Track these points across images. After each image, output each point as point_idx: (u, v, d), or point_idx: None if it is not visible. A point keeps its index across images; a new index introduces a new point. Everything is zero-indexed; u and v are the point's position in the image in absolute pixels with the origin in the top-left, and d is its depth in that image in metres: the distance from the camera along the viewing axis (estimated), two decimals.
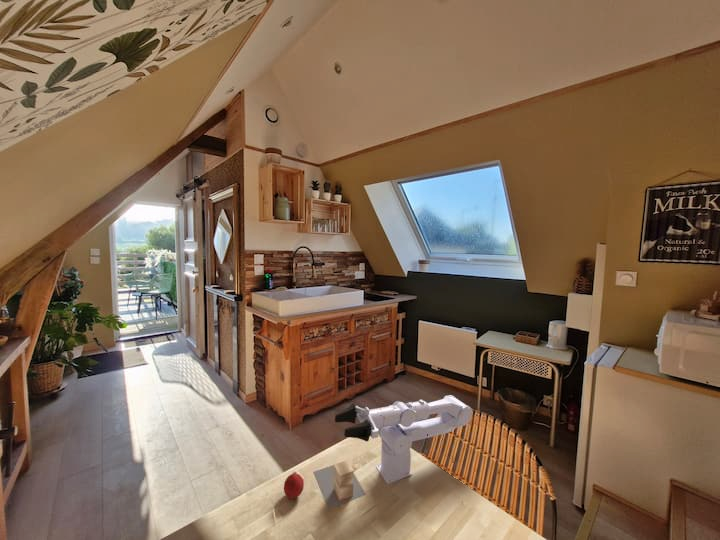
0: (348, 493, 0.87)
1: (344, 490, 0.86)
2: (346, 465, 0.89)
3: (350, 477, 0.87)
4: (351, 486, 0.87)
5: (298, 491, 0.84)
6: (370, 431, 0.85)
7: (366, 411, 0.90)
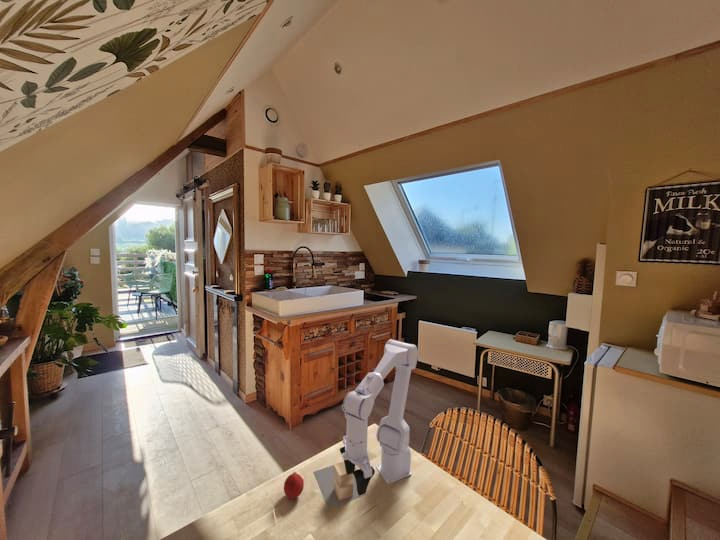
0: (348, 493, 0.87)
1: (344, 490, 0.86)
2: None
3: (350, 477, 0.87)
4: (351, 486, 0.87)
5: (298, 491, 0.84)
6: None
7: None
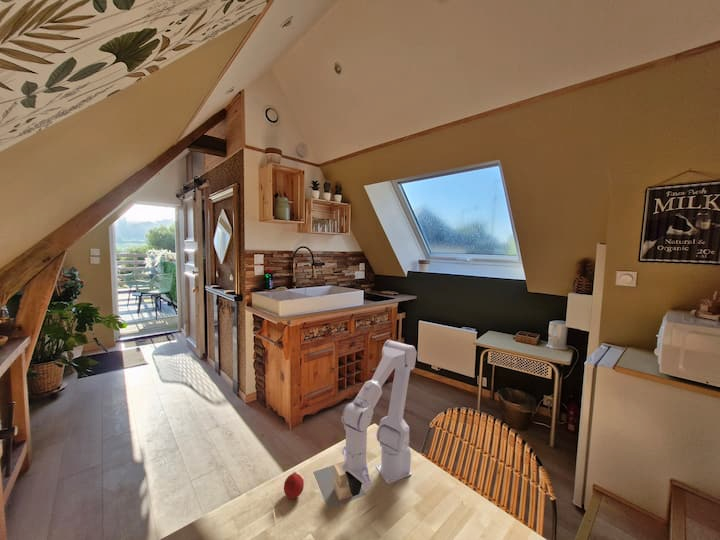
0: (348, 493, 0.87)
1: (344, 490, 0.86)
2: None
3: None
4: None
5: (298, 491, 0.84)
6: None
7: None
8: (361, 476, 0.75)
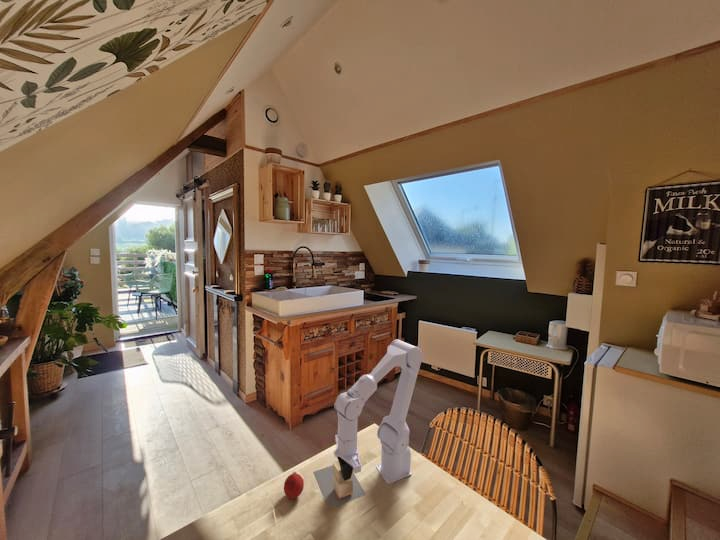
0: (348, 490, 0.87)
1: (343, 487, 0.86)
2: None
3: None
4: (350, 483, 0.87)
5: (298, 491, 0.84)
6: None
7: None
8: (352, 461, 0.81)
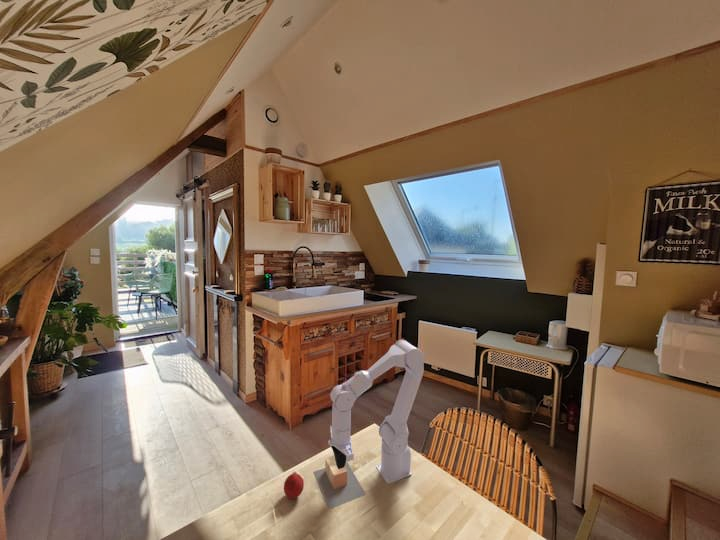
0: (341, 469, 0.92)
1: (335, 468, 0.92)
2: None
3: None
4: None
5: (298, 491, 0.84)
6: None
7: None
8: (345, 450, 0.85)
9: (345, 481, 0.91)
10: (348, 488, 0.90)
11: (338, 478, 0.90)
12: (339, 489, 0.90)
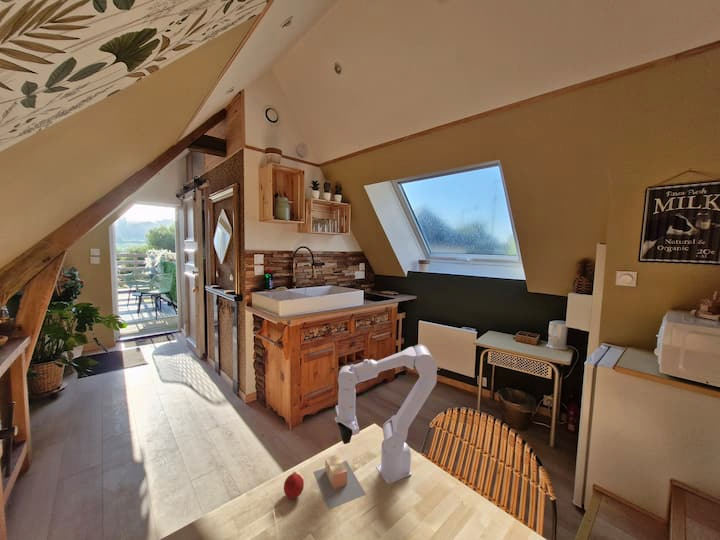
0: (341, 469, 0.92)
1: (335, 468, 0.92)
2: None
3: (337, 458, 0.96)
4: (341, 464, 0.94)
5: (298, 491, 0.84)
6: (348, 427, 0.93)
7: None
8: (351, 425, 0.91)
9: (345, 481, 0.91)
10: (348, 488, 0.90)
11: (338, 478, 0.90)
12: (339, 489, 0.90)
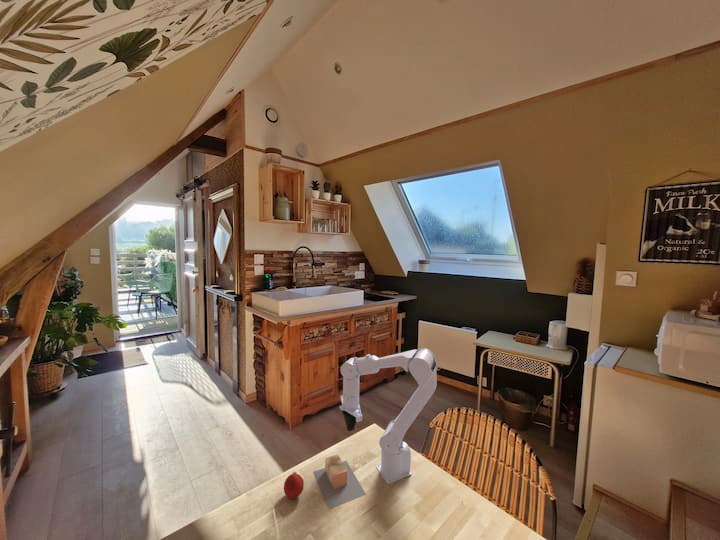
0: (341, 469, 0.92)
1: (335, 468, 0.92)
2: None
3: (337, 458, 0.96)
4: (341, 464, 0.94)
5: (298, 491, 0.84)
6: (352, 415, 0.99)
7: None
8: (355, 413, 0.97)
9: (345, 481, 0.91)
10: (348, 488, 0.90)
11: (338, 478, 0.90)
12: (339, 489, 0.90)
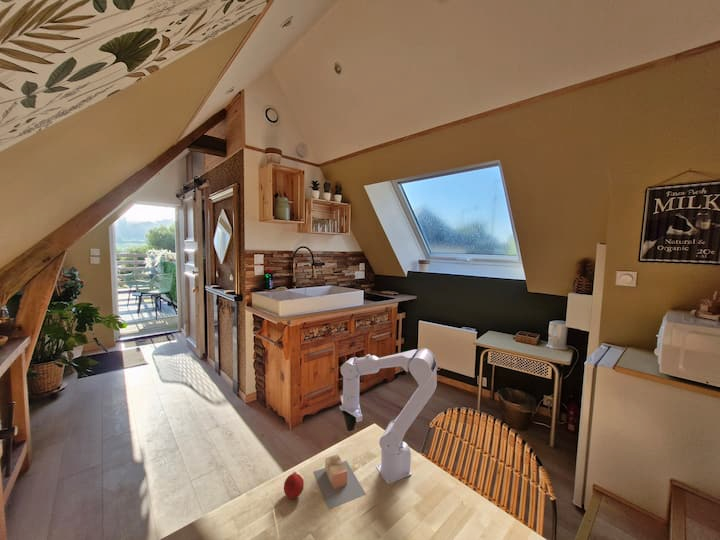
0: (341, 469, 0.92)
1: (335, 468, 0.92)
2: None
3: (337, 458, 0.96)
4: (341, 464, 0.94)
5: (298, 491, 0.84)
6: (352, 415, 0.99)
7: None
8: (355, 413, 0.97)
9: (345, 481, 0.91)
10: (348, 488, 0.90)
11: (338, 478, 0.90)
12: (339, 489, 0.90)
